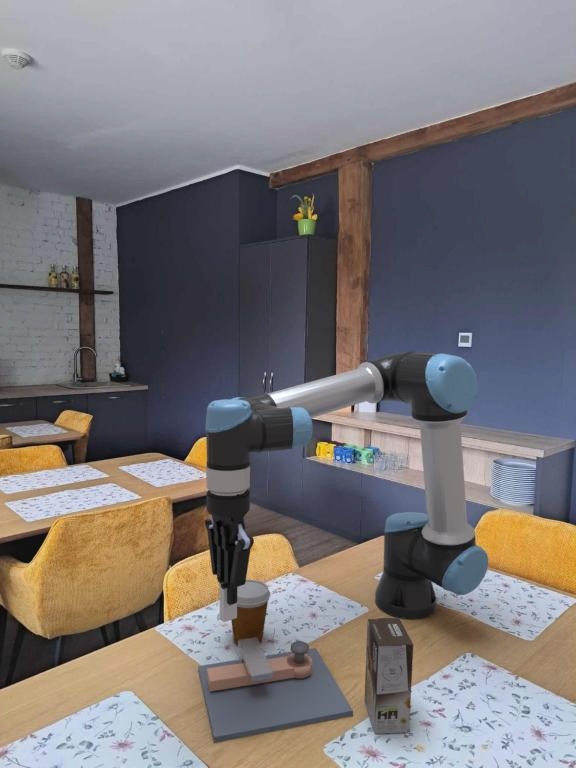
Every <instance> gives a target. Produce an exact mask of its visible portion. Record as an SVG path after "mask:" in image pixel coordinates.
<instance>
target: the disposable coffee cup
mask: <svg viewBox="0 0 576 768" xmlns="http://www.w3.org/2000/svg"><path fill="white" fill-rule="evenodd" d="M271 595H272V594H271V591H270V589H269V586H268V585H267V584H266V583H265V582H264V581H261V580H257V579H246V582H245V585H242V586H239V587H237V618H235V619H232V620H230V621H231V627H232V628H231V629H232V636H233V637H232V638H233V643H234V645H236V646H237V647H239V646H238V640H241V639H248V638H255V637H258V640H259V642H260V644H261V645H262V642H263V636H264V630H265V623H266V617H267V610H268V604H269V603H268V602H269V600H270V597H271Z"/></svg>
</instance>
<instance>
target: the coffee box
mask: <svg viewBox="0 0 576 768" xmlns="http://www.w3.org/2000/svg"><path fill="white" fill-rule="evenodd" d="M366 621H367V622H366V626H367V627H366V645H365V646H366V649H365V650H366V651H365V652H366V653H365V679H364V680H365V681H364V702H365V703H364V704H365V707H366V710H367V712H368V713H367V714H368V716H369V719H370V723H371V725H372V729H373V732H374V734H377V735H378V734H397V733H398V734H401V733H409V732H410V723H411V722H410V721H411V720H410V719H411V700H412V683H413V682H412V677H413V659H414V643H413V641H412V639H411V637H410V635H409V634H408V632H407V630H406V628H405V626H404V625H403V622H402V620H401V619H400V617H378V618H368V619H367V620H366Z"/></svg>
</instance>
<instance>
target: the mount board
mask: <svg viewBox="0 0 576 768" xmlns="http://www.w3.org/2000/svg"><path fill="white" fill-rule="evenodd" d="M291 654H294V653H293V652H292V651H286V652H281V653H280V652H279V653H273V654H267V655H266V654H265V656H266V658H267V659H273V658H279V657H286V656H289V655H291ZM306 654H307V655H309V656H310V657H311V658H312V675H310V676H308V677H306V678H289V679H283V680H277V681H271V682H265V683H259V684H253V685H247V686H241V687H235V688H228V689H222V690H216V691H210V690H209V685H208V681H207V668H214V667H220V666H227V665H233V664H239V663H238V659H234V660H228V661H221V662H216V663H215V662H213V663H207V664H202V665H198V667H197V672H198V675H199V680H200V685H201V689H202V694H203V698H204V704H205V708H206V712H207V717H208V722H209V727H210V730H211V735H212V739H213V743H214V744H215V743H221V742H225V741H230V740H235V739H241V738H246V737H251V736H255V735H260V734H266V733H271V732H276V731H280V730H282V731H283V730H287V729H292V728H297V727H302V726H307V725H312V724H317V723H323V722H327V721H333V720H338V719H344V718H348V717H353V716H354V710H353V708H352V706H351V705H350V702H349V701H348V699H347V698H346V696H345V695H344V693H343V691H342V690H341V688H340V686H339V685H338V683H337V681H336V679H335V678H334V676H333V674H332V673H331V671H330V669H329V668H328V666H327V664H326V662H325V661H324V659H323V657H322V656H321V655H320V652H319V651H318V649H317V648H316V647H312V648H309V651H308V652H307V653H306Z"/></svg>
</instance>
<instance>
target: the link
mask: <svg viewBox="0 0 576 768" xmlns="http://www.w3.org/2000/svg"><path fill="white" fill-rule="evenodd" d="M309 649H310V647H309V644H308V643H307V642H305V641H303V640H302V641H301V640H297V641H294V642H292V643H291V644H290V652H293V653H294V654H291V655H289V656H286V657H279V658H273V659H267V661H268V663H269V665H270V668H271V670H272V672H273V679H267V680H261V681H255V682H251V680H250V677H249V674H248V671H247V669H246V666H245V663H240V664H233V665H227V666H220V667H214V668H207V681H208V685H209V690H210V691H216V690H222V689H228V688H235V687H241V686H247V685H253V684H259V683H265V682H271V681H277V680H283V679H289V678H306V677H308V676H310V675H312V658H311V657H310V656H309V655H307V654H306V653H307V652H308V651H309Z"/></svg>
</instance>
